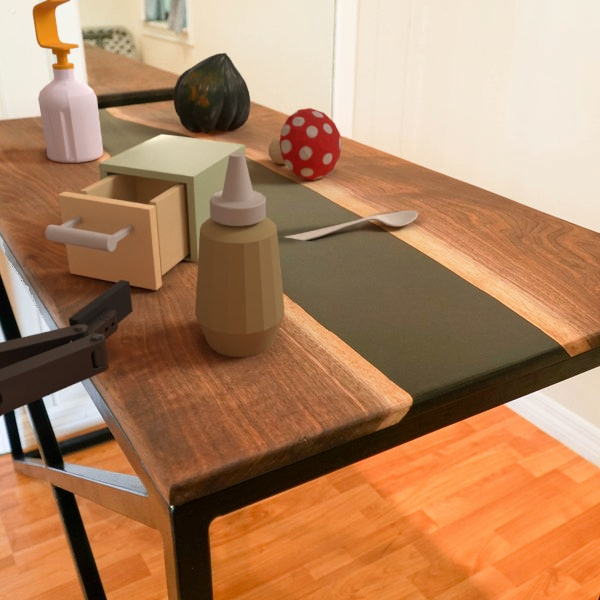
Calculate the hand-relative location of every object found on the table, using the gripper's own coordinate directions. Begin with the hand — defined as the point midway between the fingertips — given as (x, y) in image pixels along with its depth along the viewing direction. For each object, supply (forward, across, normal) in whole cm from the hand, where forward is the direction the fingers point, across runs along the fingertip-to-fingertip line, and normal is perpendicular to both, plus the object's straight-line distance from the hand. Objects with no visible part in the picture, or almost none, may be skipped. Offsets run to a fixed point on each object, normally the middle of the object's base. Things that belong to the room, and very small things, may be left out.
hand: (55, 280), depth 54 cm
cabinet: (+28, -4, -8) cm, 30 cm away
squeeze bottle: (+8, +13, -8) cm, 17 cm away
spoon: (+38, +15, -8) cm, 42 cm away
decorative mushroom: (+60, +1, -8) cm, 61 cm away
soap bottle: (+52, -37, -8) cm, 65 cm away
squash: (+78, -24, -8) cm, 82 cm away
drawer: (+17, -4, -7) cm, 19 cm away
